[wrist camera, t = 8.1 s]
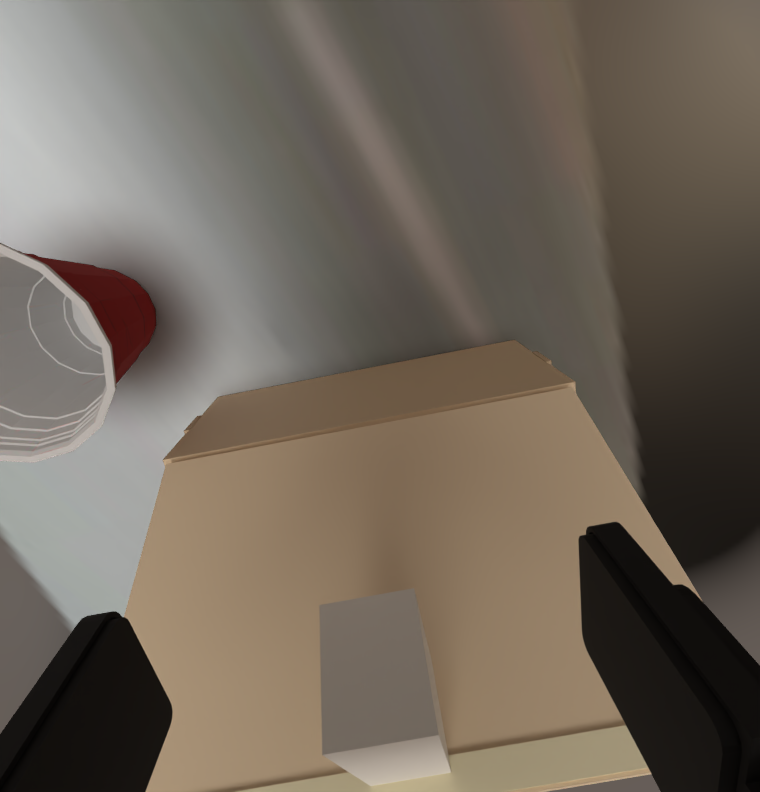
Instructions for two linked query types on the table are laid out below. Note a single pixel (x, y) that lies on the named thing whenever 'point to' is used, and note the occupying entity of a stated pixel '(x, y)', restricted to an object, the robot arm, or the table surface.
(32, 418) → the plastic cup
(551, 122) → the table surface
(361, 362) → the table surface
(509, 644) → the flap
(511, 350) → the carton
